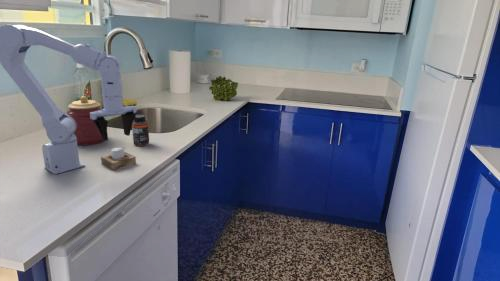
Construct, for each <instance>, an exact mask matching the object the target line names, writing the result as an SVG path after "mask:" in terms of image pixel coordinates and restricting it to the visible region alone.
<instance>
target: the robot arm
mask: <svg viewBox="0 0 500 281" xmlns="http://www.w3.org/2000/svg"><path fill="white" fill-rule="evenodd" d="M31 46H32V47H33V46H42V47H46V48H48V49H51V50H54V51H57V52H59V53H63V54H64V55H68V56H70V57H71V58H72V61H73V62H74V63H76V64H78V65H82V66H84V67H86V68H89V69H91V70H94V71H99V73H100V74H101V82H100V83H101V91H102V102H103V108H102V110H98V111H95V112H90V119H93V121H94V123H95V124H96V126H97V127H98V129H99V131H100V134H101V136H102V139H103V140H104V141H106V142H107V141H108V139H109V137H108V124H109V121H108V120H107V119H106V118H109V117H113V116H114V117H115V116H121V118H122V119H121V120H122V124H123V125H122V126H123V134H124V135H126V136H130V134H131V129H132V123H133V121H134V119H135V117H136V115H137V114H136V113H137V106H135V105H128V106H127V105H125V106H124V98H123V96H124V95H123V86H122V84H123V83H122V79H121V72H120V71H121V68H122V64H121V63H122V62H121V60H120V59H119V58H118V57H116V56H115V55H114V54H108V53H107V51H100V50H99V49H98V50H97V49H95V48H93V47H91V45H90V44H88V43H85V44H83V43H79V44H76V45H73V44H72V43H70V42H67V41H65V40H63V39H61V38H59V37H56V36H54V35H51V34H49V33H47V32H45V31H43V30H39V29H38V28H34V27H29V26H27V25H26V24H3V25H0V64H1V66H2V68H3V69H4V70H5V71H6V73H7V74H8V76H9V77H10V78H11V79H12V81H13V82H14V83H15V84H16V86H17V87H18V89H19V90H20V91H21V93H22V94H23V95H24V96H25V97H26V99H27V100H28V101H29V103H30V104H31V105H32V106H33V109H35V111H36V112H37V113H38V114H39V116H40V117H41V124H42V126H43V128H44V129H45V132H46V136H47V138H48V139H49V141H48V142H47V143H44V144H42V146H41V147H42V148H41V150H42V155H43V157H42V158H43V162H44V166H43V167H44V169H46V170H48V171H49V172H50V173H52V174H53V175H57V174H61V173H64V172H68V171H72V170H75V169H80V168H83V167H86V164H85V163H83V162H81V161H80V155H79V154H80V153H79V147H78V145H77V139H76V136H75V135H74V132H75V130H76V128H77V124H76V122H75V120H74V119H73V118H71V117H69V116H68V114H67V113H66V111H64V110H63V109H62V108H59V107H58V106H57V104H56V103H55V101H54V100H53V99H52V98H51V96H50V95H49V93H48V92H47V91H46V90H45V88H44V87H43V86H42V84H41V83H40V81H39V80H38V78H37V77H36V76H35V74H34V73H33V72H32V70H31V69H30V68H29V66H28V64H26V62H25V58H26V55H27V52H28V50H29V49H30V47H31Z"/></svg>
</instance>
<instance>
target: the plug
mask: <svg viewBox="0 0 500 281" xmlns="http://www.w3.org/2000/svg"><path fill="white" fill-rule="evenodd" d="M124 152H125V148H123V147H114V148H112V149H110V153H111V155H112V160H114V161H117V160H118V159H120V158H124V157H125V155H124Z"/></svg>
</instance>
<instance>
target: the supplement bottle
mask: <svg viewBox="0 0 500 281" xmlns="http://www.w3.org/2000/svg"><path fill="white" fill-rule="evenodd" d="M131 129H132V141H133V143H132V144H133V145H134V146H136V147H143V146H148V145H149V144H150V133H149V131H150V130H149V122H148V121H147V120H146V117H145V115H144V114H136V117H135V119H134V121H133V123H132V126H131Z"/></svg>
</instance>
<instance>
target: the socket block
mask: <svg viewBox="0 0 500 281" xmlns="http://www.w3.org/2000/svg"><path fill="white" fill-rule="evenodd" d="M124 155H125V157H124V158H120V159H118V160H117V161H114V160H112V155H111V154H106V155H103V156H100V163H101V165H103V166H105V167H107V168H109V170H112V171H117V170H119V169H123V168H127V167H130V166H133V165H136V164H137V158H136V157H137V156H135V155H132V154H131V153H128V152H126V151H124Z"/></svg>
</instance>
